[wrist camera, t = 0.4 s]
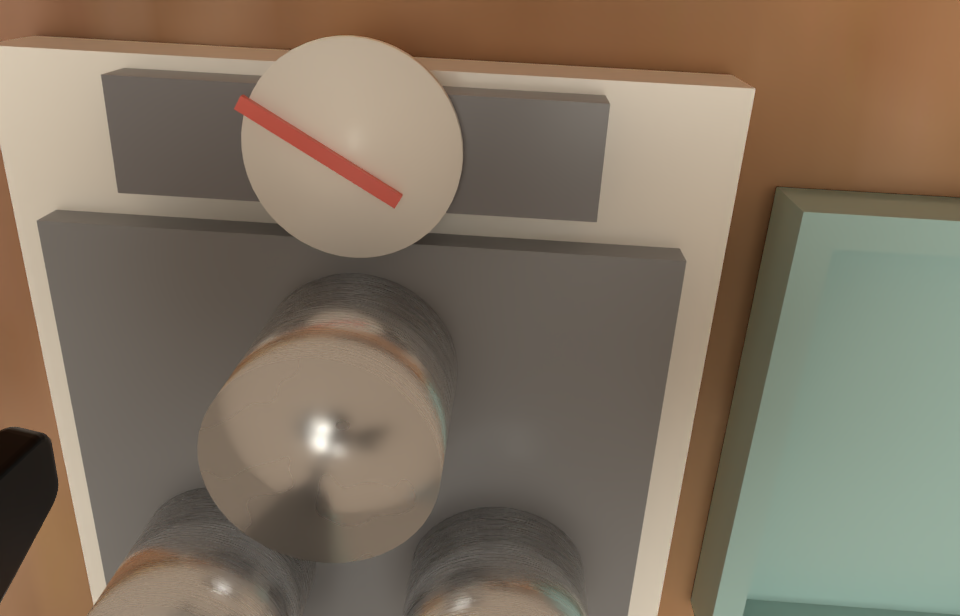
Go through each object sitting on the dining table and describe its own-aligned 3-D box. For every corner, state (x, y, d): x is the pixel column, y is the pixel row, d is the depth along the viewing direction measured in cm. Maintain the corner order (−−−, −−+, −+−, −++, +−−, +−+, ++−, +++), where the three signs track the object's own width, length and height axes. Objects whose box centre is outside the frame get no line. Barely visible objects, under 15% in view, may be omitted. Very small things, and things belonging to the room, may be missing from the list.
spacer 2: (454, 452, 19) (437, 571, 15) (268, 439, 19) (209, 554, 16) (461, 279, 17) (444, 367, 14) (256, 266, 17) (184, 350, 14)
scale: (639, 609, 24) (656, 706, 21) (128, 571, 25) (70, 661, 22) (737, 42, 18) (784, 61, 14) (28, 2, 18) (-78, 13, 15)
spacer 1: (319, 627, 22) (276, 764, 18) (156, 615, 22) (81, 748, 18) (312, 493, 20) (264, 615, 16) (134, 480, 20) (46, 598, 16)
